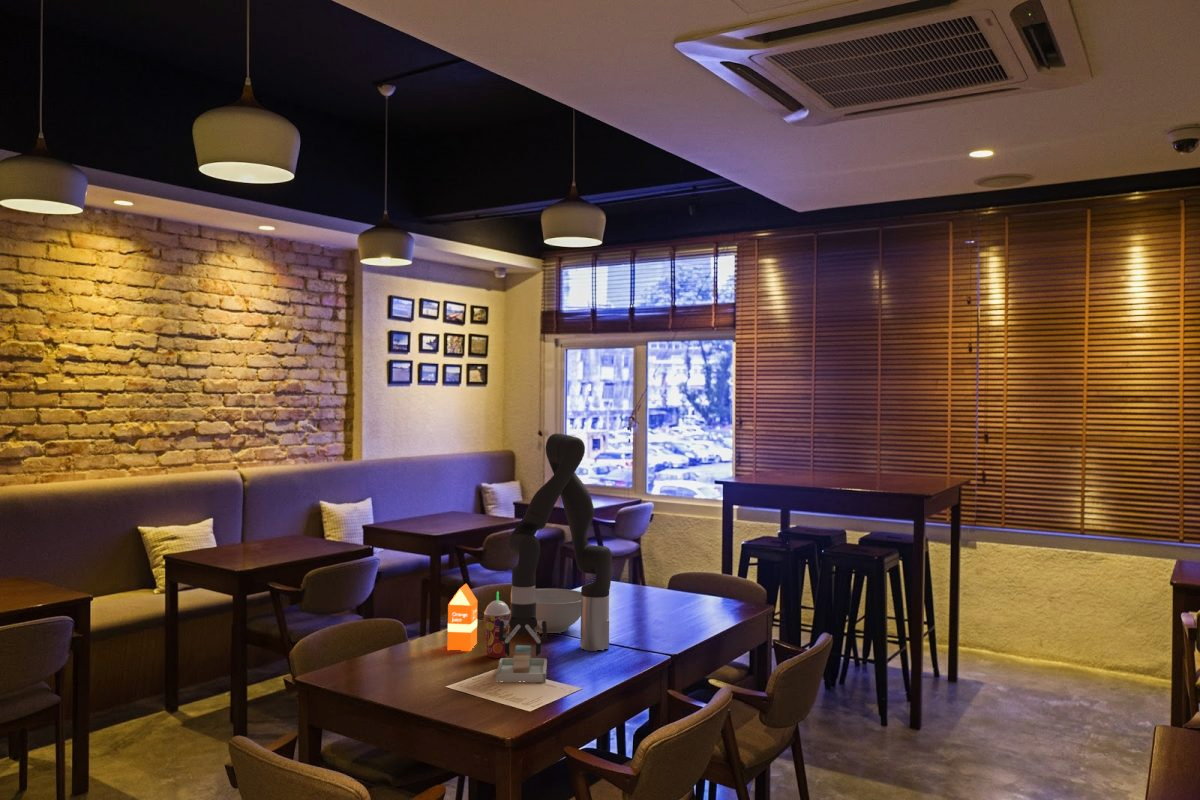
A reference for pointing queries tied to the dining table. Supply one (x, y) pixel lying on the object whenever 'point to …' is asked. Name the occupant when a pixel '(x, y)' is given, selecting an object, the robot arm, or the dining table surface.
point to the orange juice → (462, 620)
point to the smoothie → (495, 627)
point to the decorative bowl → (557, 608)
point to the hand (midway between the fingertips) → (522, 655)
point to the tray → (534, 675)
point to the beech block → (521, 662)
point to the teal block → (524, 649)
